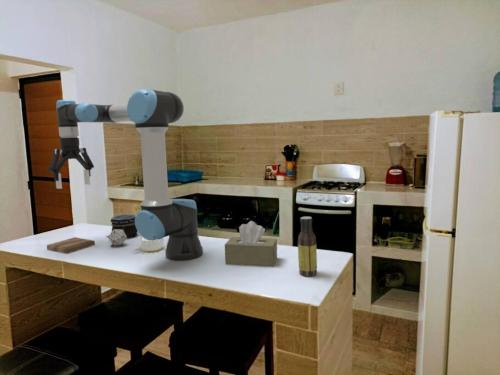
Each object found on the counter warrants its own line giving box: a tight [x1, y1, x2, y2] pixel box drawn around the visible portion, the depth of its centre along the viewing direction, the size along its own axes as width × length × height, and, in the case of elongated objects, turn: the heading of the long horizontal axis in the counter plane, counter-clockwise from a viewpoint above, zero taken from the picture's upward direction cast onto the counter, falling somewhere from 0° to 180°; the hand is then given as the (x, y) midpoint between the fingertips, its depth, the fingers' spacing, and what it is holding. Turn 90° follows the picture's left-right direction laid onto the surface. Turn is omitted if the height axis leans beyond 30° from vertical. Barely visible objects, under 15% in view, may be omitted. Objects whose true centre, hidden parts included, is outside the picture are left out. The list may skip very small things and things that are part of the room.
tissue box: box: [224, 220, 278, 268], centre depth 142 cm, size 19×10×16 cm, turn 77°
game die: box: [105, 228, 130, 247], centre depth 169 cm, size 9×8×10 cm
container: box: [110, 213, 139, 240], centre depth 185 cm, size 13×13×10 cm
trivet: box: [46, 236, 96, 254], centre depth 169 cm, size 14×14×2 cm
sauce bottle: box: [297, 215, 318, 278], centre depth 128 cm, size 6×6×20 cm
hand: (73, 186), depth 163 cm, fingers open, 13 cm apart
